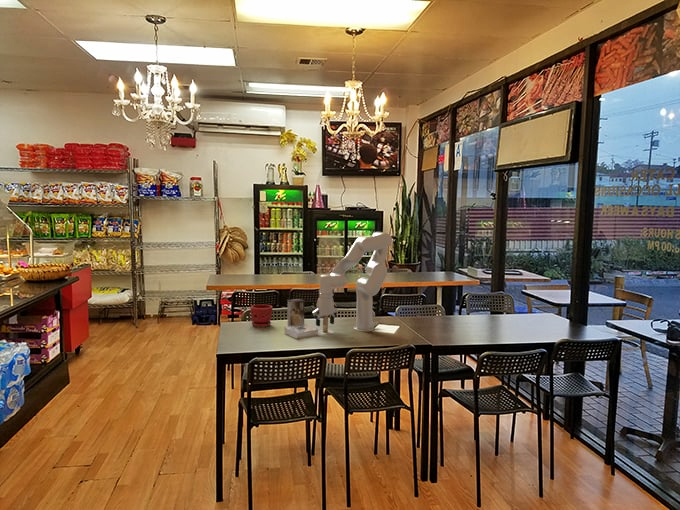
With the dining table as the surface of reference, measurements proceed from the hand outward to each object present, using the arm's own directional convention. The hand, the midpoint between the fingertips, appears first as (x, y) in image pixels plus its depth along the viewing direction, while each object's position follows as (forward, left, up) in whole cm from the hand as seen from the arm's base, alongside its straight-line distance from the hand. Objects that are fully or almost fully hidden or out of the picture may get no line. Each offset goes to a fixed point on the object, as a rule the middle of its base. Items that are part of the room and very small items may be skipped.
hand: (325, 324), depth 273 cm
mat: (0, -1, -5) cm, 5 cm away
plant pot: (+24, -34, -5) cm, 42 cm away
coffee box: (+7, -22, -5) cm, 23 cm away
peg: (0, 0, -4) cm, 4 cm away
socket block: (+14, -4, -5) cm, 15 cm away
